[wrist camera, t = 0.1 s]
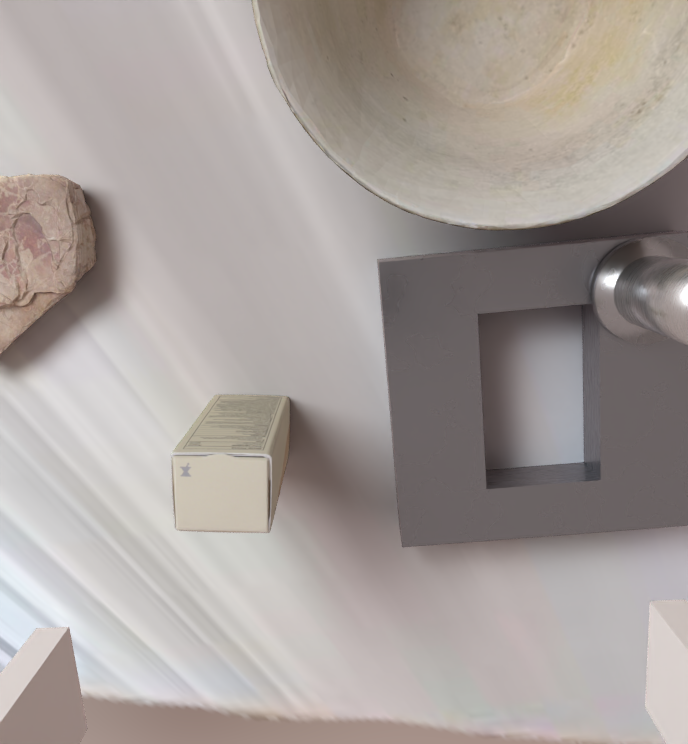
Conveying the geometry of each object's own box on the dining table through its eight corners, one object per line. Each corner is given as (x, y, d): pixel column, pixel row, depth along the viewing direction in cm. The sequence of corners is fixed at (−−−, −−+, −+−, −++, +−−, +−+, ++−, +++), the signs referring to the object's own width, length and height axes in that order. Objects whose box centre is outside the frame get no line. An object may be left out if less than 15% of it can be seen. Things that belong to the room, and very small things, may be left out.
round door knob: (572, 240, 39) (662, 249, 28) (673, 230, 39) (806, 235, 27) (574, 337, 41) (660, 383, 29) (671, 328, 40) (797, 372, 29)
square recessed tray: (377, 259, 40) (378, 262, 37) (673, 230, 39) (698, 231, 36) (399, 525, 44) (402, 547, 41) (667, 504, 43) (690, 525, 40)
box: (215, 454, 43) (167, 532, 32) (213, 392, 42) (163, 451, 31) (293, 457, 43) (271, 536, 32) (294, 395, 42) (271, 455, 31)
